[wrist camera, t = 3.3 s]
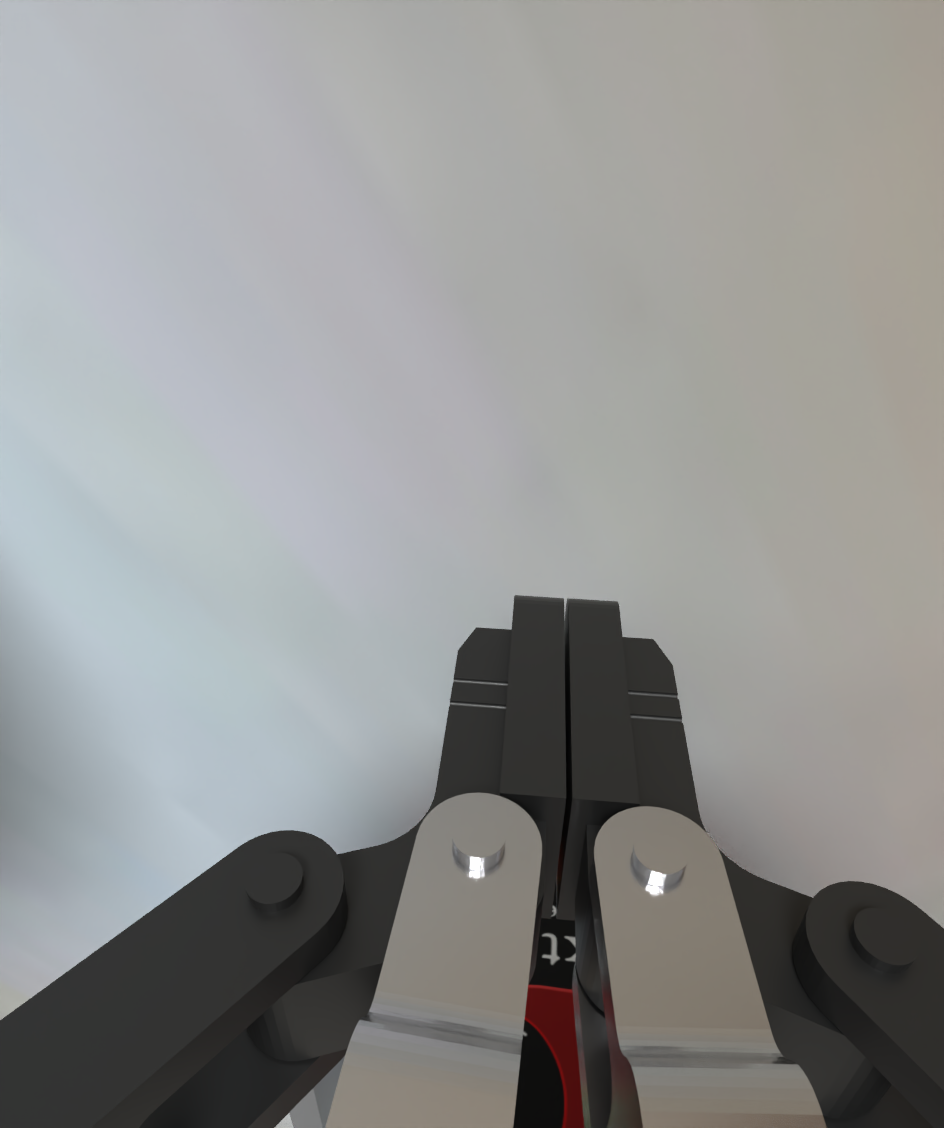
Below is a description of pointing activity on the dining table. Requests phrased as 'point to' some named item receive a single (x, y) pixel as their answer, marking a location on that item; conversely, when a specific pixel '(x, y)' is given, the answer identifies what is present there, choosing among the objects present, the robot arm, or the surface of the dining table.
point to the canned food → (550, 1035)
